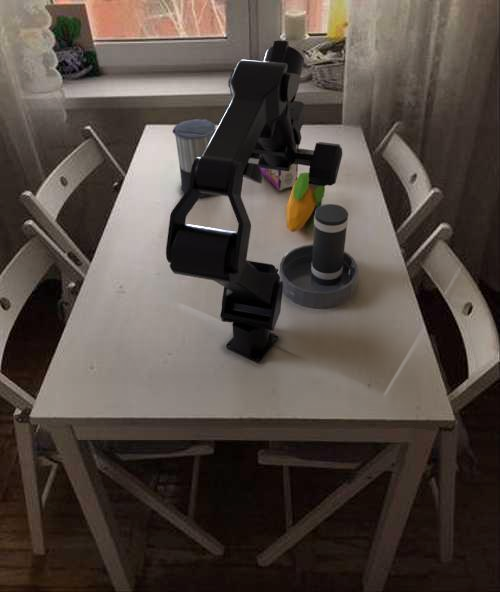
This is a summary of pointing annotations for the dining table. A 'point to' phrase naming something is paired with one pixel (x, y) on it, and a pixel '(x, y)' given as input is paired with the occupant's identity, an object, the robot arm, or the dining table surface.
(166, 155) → the dining table surface
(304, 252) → the pan
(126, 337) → the dining table surface
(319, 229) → the canister
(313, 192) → the corn
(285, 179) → the candy bar box
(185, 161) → the milk frother
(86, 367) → the dining table surface
